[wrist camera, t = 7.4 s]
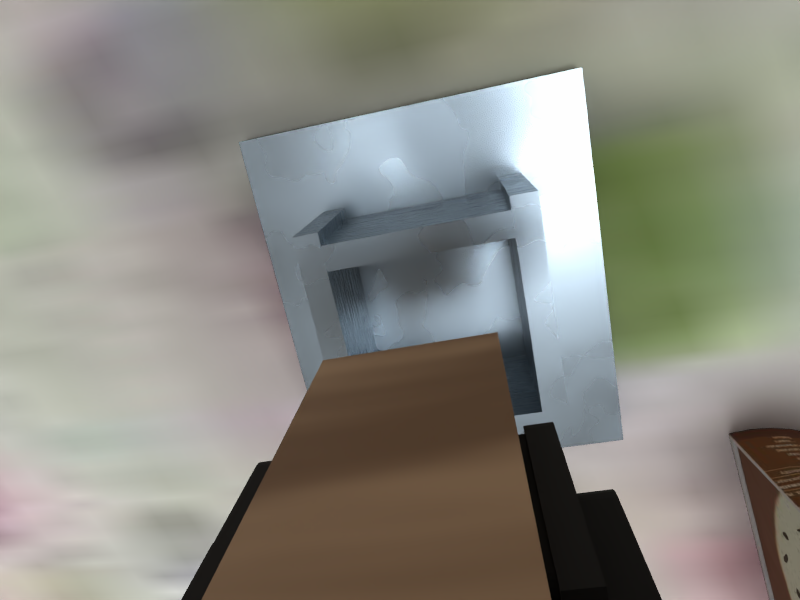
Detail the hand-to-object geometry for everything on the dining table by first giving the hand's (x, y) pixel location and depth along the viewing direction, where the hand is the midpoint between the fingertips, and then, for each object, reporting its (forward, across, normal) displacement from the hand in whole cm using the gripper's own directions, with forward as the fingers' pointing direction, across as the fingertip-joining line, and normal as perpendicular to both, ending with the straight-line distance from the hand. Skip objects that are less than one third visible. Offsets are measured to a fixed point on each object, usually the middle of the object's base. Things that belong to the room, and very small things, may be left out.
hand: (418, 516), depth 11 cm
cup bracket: (+13, 0, 0) cm, 13 cm away
